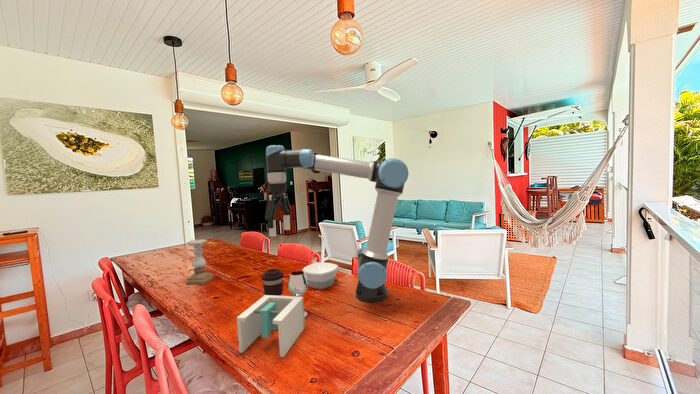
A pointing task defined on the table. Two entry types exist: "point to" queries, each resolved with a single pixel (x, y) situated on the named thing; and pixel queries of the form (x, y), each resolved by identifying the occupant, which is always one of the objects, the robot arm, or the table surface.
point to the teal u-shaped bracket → (267, 319)
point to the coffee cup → (273, 282)
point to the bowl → (320, 274)
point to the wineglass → (298, 284)
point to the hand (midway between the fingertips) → (280, 232)
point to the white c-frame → (286, 320)
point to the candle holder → (199, 265)
